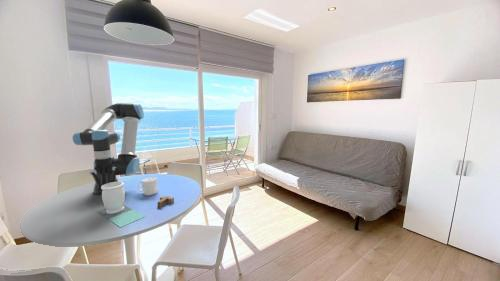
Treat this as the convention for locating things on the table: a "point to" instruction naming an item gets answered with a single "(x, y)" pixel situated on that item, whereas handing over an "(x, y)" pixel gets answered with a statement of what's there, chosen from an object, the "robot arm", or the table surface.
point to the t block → (165, 200)
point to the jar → (113, 197)
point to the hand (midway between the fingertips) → (107, 197)
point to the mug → (149, 186)
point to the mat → (123, 216)
